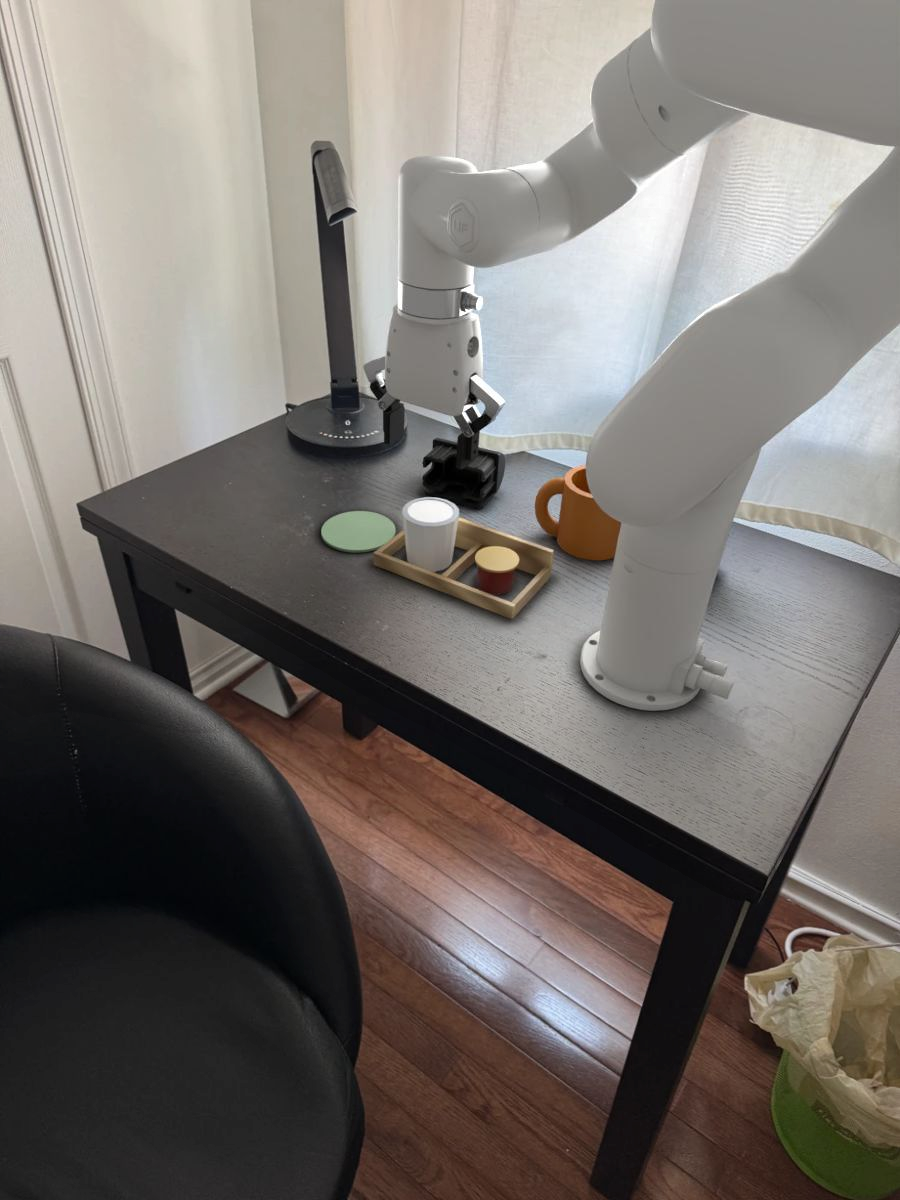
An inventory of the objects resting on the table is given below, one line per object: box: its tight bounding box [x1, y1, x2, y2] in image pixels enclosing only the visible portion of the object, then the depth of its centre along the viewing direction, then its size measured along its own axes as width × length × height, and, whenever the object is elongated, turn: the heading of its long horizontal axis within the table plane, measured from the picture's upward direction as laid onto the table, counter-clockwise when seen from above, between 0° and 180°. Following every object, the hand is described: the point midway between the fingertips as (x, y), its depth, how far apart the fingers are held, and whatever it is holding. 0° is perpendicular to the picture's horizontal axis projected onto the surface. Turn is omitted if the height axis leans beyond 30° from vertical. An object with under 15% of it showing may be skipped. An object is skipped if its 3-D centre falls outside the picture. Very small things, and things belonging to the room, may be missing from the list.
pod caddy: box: [372, 516, 555, 620], centre depth 95 cm, size 19×10×4 cm, turn 59°
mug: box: [534, 464, 622, 561], centre depth 101 cm, size 9×12×9 cm
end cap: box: [421, 437, 506, 510], centre depth 110 cm, size 10×7×7 cm
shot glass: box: [401, 496, 460, 573], centre depth 96 cm, size 7×7×7 cm
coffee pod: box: [474, 546, 519, 595], centre depth 94 cm, size 5×5×4 cm
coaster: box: [320, 510, 397, 554], centre depth 103 cm, size 10×10×1 cm
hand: (429, 451), depth 90 cm, fingers open, 9 cm apart
